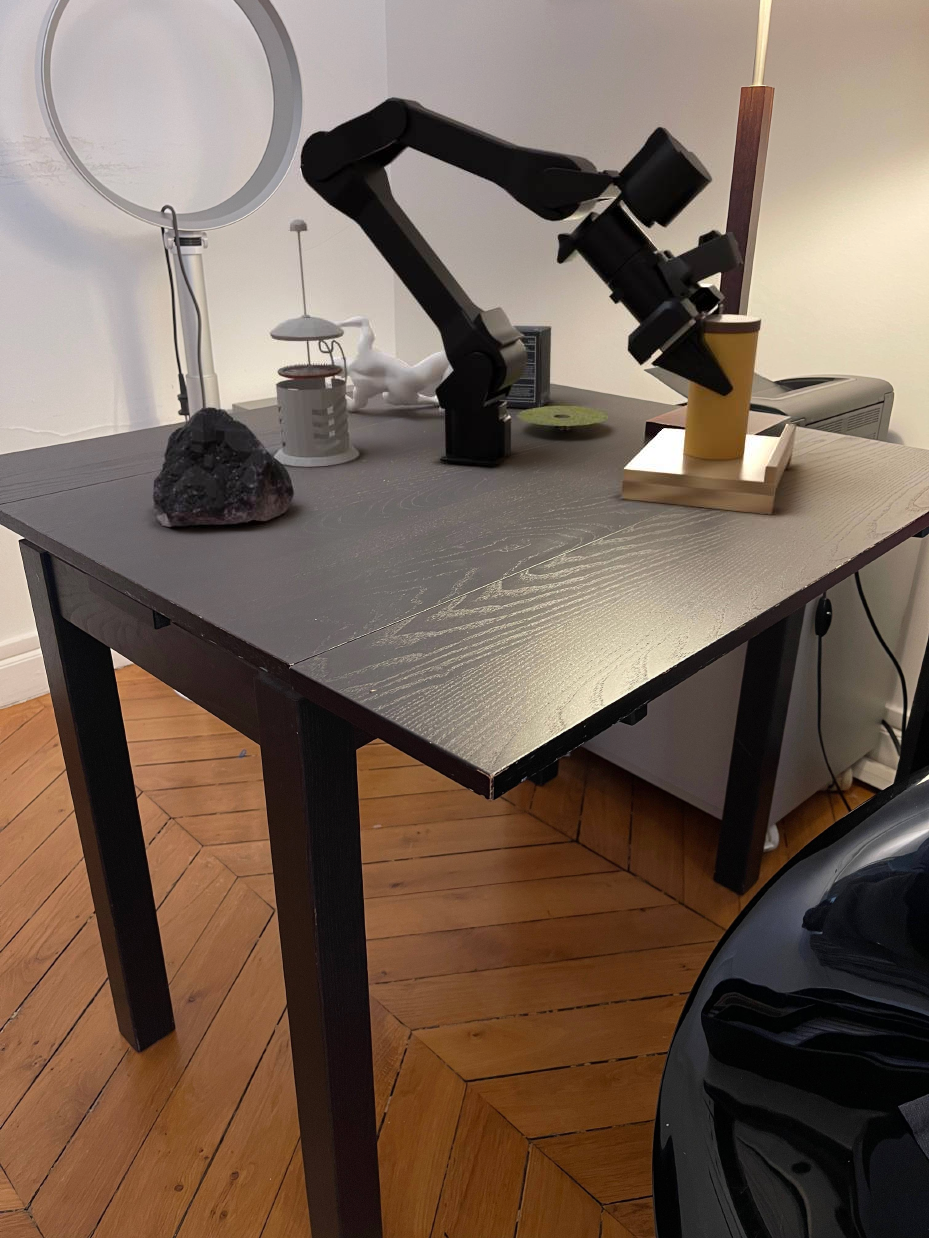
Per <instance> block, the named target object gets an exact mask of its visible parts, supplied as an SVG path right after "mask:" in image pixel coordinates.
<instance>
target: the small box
mask: <svg viewBox="0 0 929 1238" xmlns="http://www.w3.org/2000/svg"><path fill="white" fill-rule="evenodd" d="M512 326H513V327H514V328H515V329H516V330H517V331H518V332H520V333H522V334H523V335H524V338H522V339H519V340H520V341H521V342H522V343H523V345H524V347H525V349H526V352H527V362H526V368H525V371H524V374H523V375H522V376H521V378H520V379H519V380H518V381H516V382H515V383H513V386H512V389H511V392H510V395H509V397H507V398H503V399H501V400H499V401H506V402H507V407H506V408H517V409H533V408H540V407H544V406H545V405H546V404H547V403H549V402H550V400H551V361H552V360H551V359H552V355H551V353H552V350H551V349H552V326H551V325H512Z"/></svg>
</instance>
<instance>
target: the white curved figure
mask: <svg viewBox="0 0 929 1238" xmlns="http://www.w3.org/2000/svg"><path fill="white" fill-rule="evenodd" d="M331 322H332V323H334V324H335V325H337V326H338V327H340V328H341V329H343V328H358V329H359V328H360V333H359V334H360V338H359V340H358V341H357V344H356V349H357V354H356V356H355V357H354V358H353V359H352V358H349V357H345V359H346V368H347V377H348V376H349V377H350V380H351V381H352V384H353V385H354V387H353V390H352V398H351V397H350V396H348V395H347V394H345V399H347V406H346V410H347V411H349V412H351V413H354V412H357V411H359V410H360V409H363V408H366V407H367V406H368V403H369V399H371V398H374V397H376V396H377V395H380V394H382V398H383V400H384V402H386V403H387V404H390V405H392V406H406V407H407V406H409V407H410V406H420V405H430V406H439V407H438V411H439V413H442V414H445V409H441V407H440V405H439V402H438V399H437V396H436V394H435V396H427V395H424V394H420V392H421V391H424V390H426V388H428V387H429V386H430V385H431V384H434V383H436V382H438V381H440V384H441V383H442V382H443V381H444V380H445V379H446V378H447V377H448V376H449V374H450V373H451V372H452V371H453V369H452V367H451V365H450V363H449V361H448V359H447V357H446V354H445V350H442V351H438V352H434V353H432V354H431V355H429V356H427V357H426V358H424V359H423V360H421V361H420V362H419V363H417V364H414V365H412V366H411V365H408V363H406V362H405V361H403V360H401V359H400V358H398V357H396V356H393V355H391V354H388V353H385V352H381V351H380V350H379V349H378V348H375V347H374V343H375V341H376V338H377V334H376V331H375V330H374V328H373V326H372V323H371V318H369V317H366V316H362V315H358V316H353V317H352V316H351V317H350V318H348V319H344V320H340V321H331ZM333 360H334V365H337V366H340V367H341V368H342V372H341V373H339V374H338V375H336V376H337V377H340V379H345V369H344V360H343V356H336V357H333ZM329 364H330V365H331V364H332V361H331V360H330V361H329V362H328V365H329ZM336 376H335V377H336ZM325 384H326V389H327V388H332V386H331V381H325Z"/></svg>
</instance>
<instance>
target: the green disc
mask: <svg viewBox="0 0 929 1238" xmlns="http://www.w3.org/2000/svg"><path fill="white" fill-rule="evenodd" d="M516 417H517V419H519V420H521V421H523V422H526V423H530V424H534V425H542V426H554V429H559V430H560V431H564V430H565V429H566V431H571V426H586V425H587V426H588V425H592V424H598V423H601V422H603V421H604V422H605V421H606V420H607V419H608V418H609V416H608V413H606V412H605V411H603V410H598V409H595V408H591V407H584V406H581V405H580V406H577V405H575V406H572V405H549V406H542V407H540V408H526V409H524V410H521V411H520V412H518V414H517V415H516Z"/></svg>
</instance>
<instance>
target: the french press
mask: <svg viewBox="0 0 929 1238" xmlns="http://www.w3.org/2000/svg"><path fill="white" fill-rule="evenodd" d="M308 231H309V230H308V224H307V223H306V222H305V221H304V220H303V219H299V218H297V219H294V220H292V221H291V222H290V224H289V232H296V233H297V241H298V252H299V253H298V254H299V265H300V276H301V290H302V301H303V302H302V303H303V304H302V305H303V314H302V315H301V316H300V317H295V318H291V319H287V320H285V321H283V322H280V323H279V324H278V325H276V326H275V327H274V328H273V329H272V330H271V331H269V336H270V337H271V339H273V340H275V341H276V340H277V341H284V342H306V350H307V361H308V363H303V364H302V363H301V364H300V363H298V364H291V365H286V366H283V367H280V368H278V370H277V375H278V376H280V377H283V378H286V379H285V380H281V381H279V382H277V383H275V389H276V401H277V408H278V409H277V411H278V412H277V413H278V419H279V431H280V432H279V433H280V442H281V448H280V449H279V450H277V451H276V453H275V454H274V455H273V458H275V459H277V460H278V461H279V462H281V464H282V465H284V466H285V465H287V466H291V467H309V468H313V467H327V466H333V465H340V464H345V463H347V462H350V461H353V460H355V459H357V458H358V457H359V456H360V453H359V450H358V449H357V448H356V447H355V446H354V445H352V444H350V442H351V441H350V432H349V430H348V429H349V427H350V426H349V421H348V417H349V410H348V409H347V408H346V406H347V399H345V395H347V381H348V376H347V368H346V359H345V353H344V350H343V347H342V346H341V344H340V342H339V341H337V340H335V339H339V338H341V337H343V336H344V334H345V330H344V329H343V328H340V327H338V326H337V325H335V324H334V323H332V322H333V321H330V320H327V319H324V318H321V317H316V316H311V315H309V314H307V306H306V304H307V303H306V293H305V281H304V279H305V278H304V268H303V256H302V243H301V232H308ZM327 340H331V342H330V347H329V343H327V342H326V341H327ZM317 341H318V343H317V344H318V350H319V352H320V353H322V354H329V358H330V361H332V364H331V365H330V364H329V363H318V364H317V363H311V355H310V342H317ZM321 343H323V344H324V345H325V348H326V349H327V350H323V349H322V344H321ZM334 343H335V344H336V345H337V346H338V348H339V350H340V353H341V355H342V356H341V357H343V360H344V369H345V378H344V379H342V378H336V375H338V374H339V373H341V372H342V368H341V367H340V366H337V365H334V360H333V358H334V356H333V352H334ZM327 378H330V383H331V386H332V388H327V389H326V384H325V382H326V379H327ZM330 408H332V412H330V413H329V412H328V411H329V410H328V409H330ZM281 410H282V411H281ZM331 420H333V423H332V424H329V422H330V421H331ZM282 421H283V422H282ZM283 432H284V434H283ZM330 432H334V435H332V436H330Z"/></svg>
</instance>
